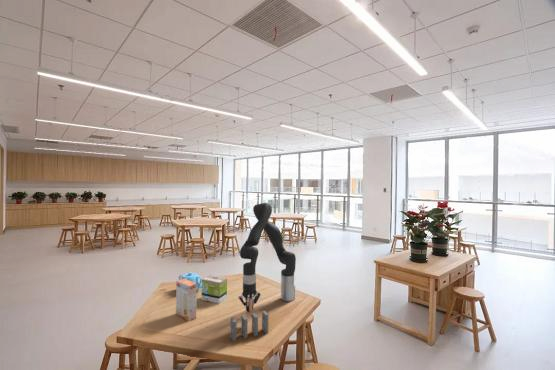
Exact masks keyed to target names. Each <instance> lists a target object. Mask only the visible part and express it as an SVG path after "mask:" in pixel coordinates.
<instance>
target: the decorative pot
mask: <svg viewBox="0 0 555 370" xmlns="http://www.w3.org/2000/svg"><path fill="white" fill-rule="evenodd" d="M182 279H186V280H189V281H191V282H194V283H196V284H197V291H199V290H200V289H202V279H203V278H202V277H201V276H200V275H199V274H198V273H197V272H192V271H189V272H187V273H185V274H180V275H179V276H178V280H182Z"/></svg>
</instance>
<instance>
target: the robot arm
mask: <svg viewBox="0 0 555 370" xmlns="http://www.w3.org/2000/svg"><path fill="white" fill-rule="evenodd" d="M252 209H253V210H252V211H253V215H254V217H255V218H256V220H257V222H256V223H255V224H254V225H253V226H252V228H251V230H250V231H249V233H248V237H247V239H246V240H245V242H244V243H243V245H242V246H241V248H240V251H239V256H240V258H241V259H243V260H250V262H249V261H248V262H245V263H243V265H242V271H243V272H242V274H243V275H242V293H241V294H240V295H239V296H237V297H238V300H240V302H241V303H242V305H243V306H244V307H245V311H246V313H247V312H249V298H252V309H253V310H254V305H256V304H257V303H258V301H259V300H260V299H259V298H260V297H261V295H262V294H261V293H260V292H259V291H257V277H256V275H257V274H256V265H257V261H258V257H259V249H258V248H257V247H256V246H258V245H259V243H260V241H261V240H260V239H261V237H262V233H263V231H264V232H265V234H266V236H267V238H268V240H269V241H270V243H271V246H272V248H273V249H274V251H275V253H276V256H277V258H278V260H279V262H280V264H283V265H285V268H284V269H282V270H281V272H280V274H281V275H280V299H281V300H282V301H283V302H292V301H294V300H296V285H295V271H296V263H297V259H296V254H295V253H294V252H291V251H287V250H286V248H285V247H284V244H283V241H284V237H283V234H282V232H281V230H280V228H279V227H278V226H277V225H276V224H274V223H273V222H271V220H269V219H270V218H271V215H272V213H273V208H272V204H270V202H262V203H258V204H254V206H253V207H252ZM244 300H245V301H244Z"/></svg>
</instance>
